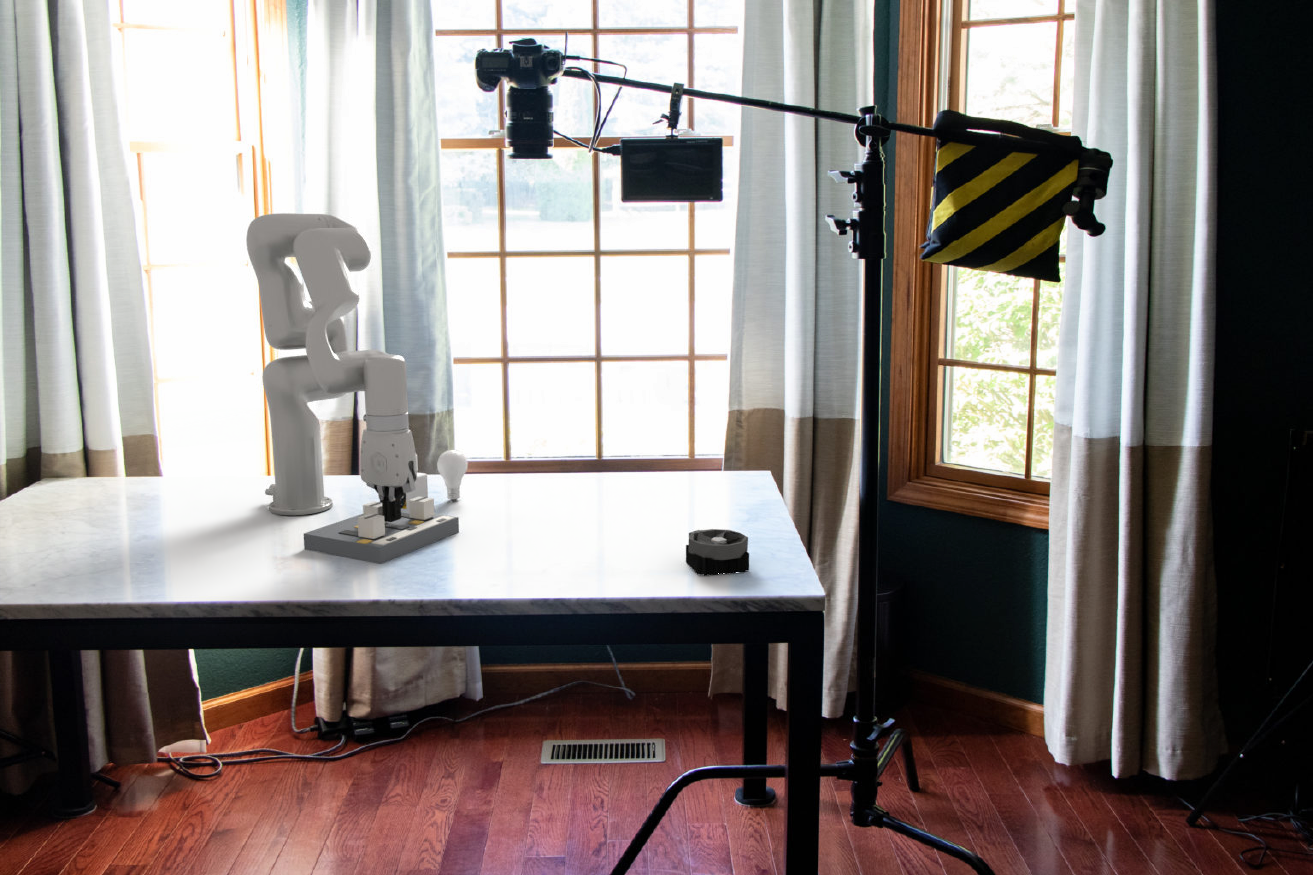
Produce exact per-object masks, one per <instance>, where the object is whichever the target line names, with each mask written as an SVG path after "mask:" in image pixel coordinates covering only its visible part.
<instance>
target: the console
mask: <svg viewBox="0 0 1313 875" xmlns="http://www.w3.org/2000/svg"><path fill="white" fill-rule="evenodd" d="M360 516H363V513H360V514H358V515H355V516H351V517H348V518H345V519H343V520H340V521H336V522H334V523H331V524H328V525H325V526H322V527H319V528H317V529H316V528H315V529H312V530H309V531H307V532H304V533H303V550H307V551H310V552H311V551H312V552H317V553H322V554H328V555H331V556H332V555H333V556H338V557H344V558H350V559H353V560H360V561H365V562H370V563H374V564H375V563H376V564H380V565H381V564H383V563H386V562H388V561H391V560H394V559H395V558H399V557H401V556H403V555H407V554H408V553H411V552H413V551H415V550H418V549H420V548H424V547H427V546H428V545H432V544H433V543H436V542H438V541H440V540H444V539H445V538H447V537H451V536H453V535H456V534H458V533H460V529H459V528H460V524H459V518H460V517H458V516H453V515H447V514H440V513H436V512H434V517H431V518H429V519H426V520H421V519H415V518H410V511H409V509H402V508H401V519H399V520H396V521H393V522H387V523H385V535H383V536H380V537H378V538H375V539H371V538H365V537H359V535H358V517H360Z"/></svg>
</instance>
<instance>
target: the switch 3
mask: <svg viewBox="0 0 1313 875" xmlns="http://www.w3.org/2000/svg"><path fill="white" fill-rule="evenodd" d="M409 511H410V518H415V519H421V520H426V519H429V518H431V517H434V513H435V498H433V497H429V496H428V497H420V496H419V497H416V498H413V499H410V500H409Z"/></svg>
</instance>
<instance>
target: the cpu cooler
mask: <svg viewBox="0 0 1313 875" xmlns="http://www.w3.org/2000/svg"><path fill="white" fill-rule="evenodd" d="M748 546H749V537H748V536H746V535H745V534H743V533H741V532H738V531H735V530H731V529H718V528H715V529H714V528H710V529H696V530H694V531H691V532H688V544H686V545H685V562H686V563H687V565H688V566H689V567H690V568H691V569H692V570H693V571H694V573H697V574H696V575H698V574H700V575H703V576H704V577H705V576H706V577H707V576H709V575H711V576H719V574H723V573H725V574H723V575H730V574H729V573H733V574H734V573H736V572H747V571H746V570H749V571H750V553H749V552H748ZM718 573H719V574H718ZM736 574H737V573H736Z"/></svg>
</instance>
